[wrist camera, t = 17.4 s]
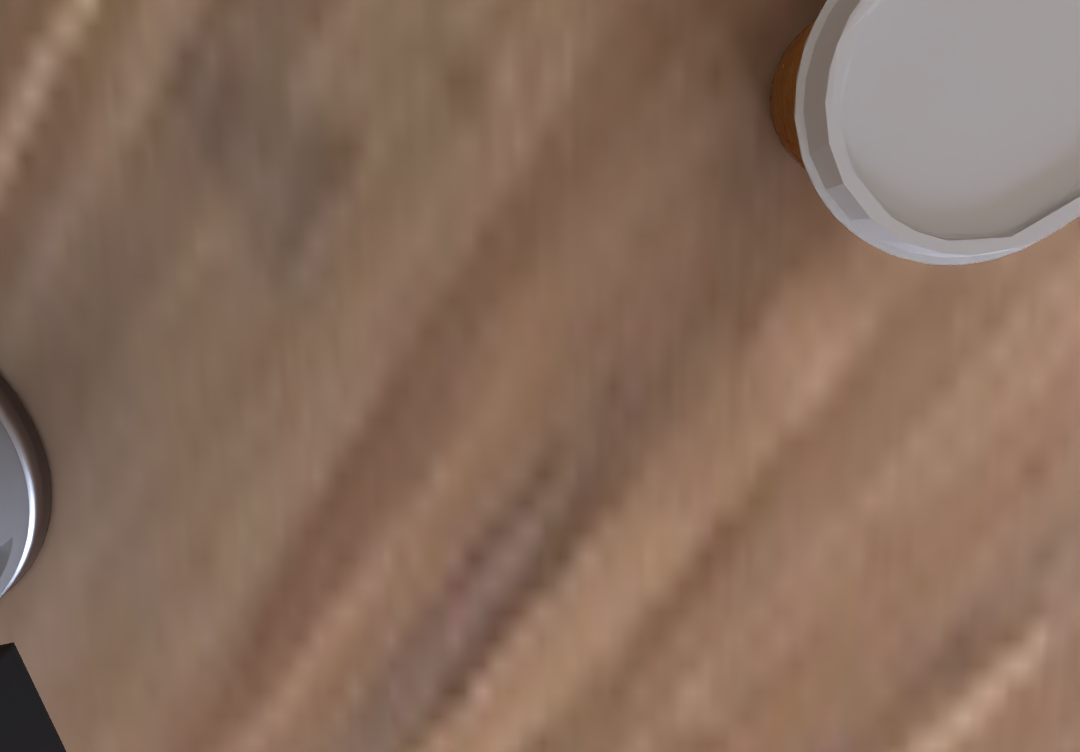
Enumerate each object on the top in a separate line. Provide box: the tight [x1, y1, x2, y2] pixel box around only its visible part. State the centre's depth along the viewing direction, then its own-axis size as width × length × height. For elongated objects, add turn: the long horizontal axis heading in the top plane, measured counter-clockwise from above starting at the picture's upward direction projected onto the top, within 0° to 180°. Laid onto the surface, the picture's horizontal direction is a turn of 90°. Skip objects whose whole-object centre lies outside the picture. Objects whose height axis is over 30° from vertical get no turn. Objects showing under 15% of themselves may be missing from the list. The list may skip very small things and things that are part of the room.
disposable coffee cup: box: [770, 0, 1080, 265], centre depth 30 cm, size 10×10×12 cm
